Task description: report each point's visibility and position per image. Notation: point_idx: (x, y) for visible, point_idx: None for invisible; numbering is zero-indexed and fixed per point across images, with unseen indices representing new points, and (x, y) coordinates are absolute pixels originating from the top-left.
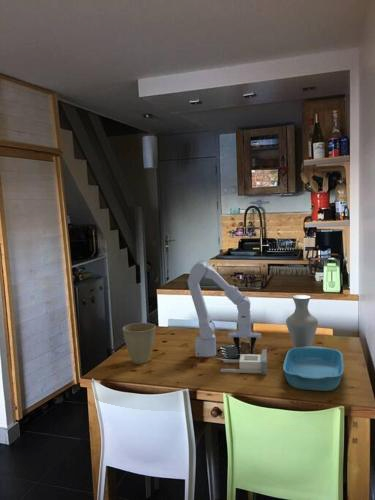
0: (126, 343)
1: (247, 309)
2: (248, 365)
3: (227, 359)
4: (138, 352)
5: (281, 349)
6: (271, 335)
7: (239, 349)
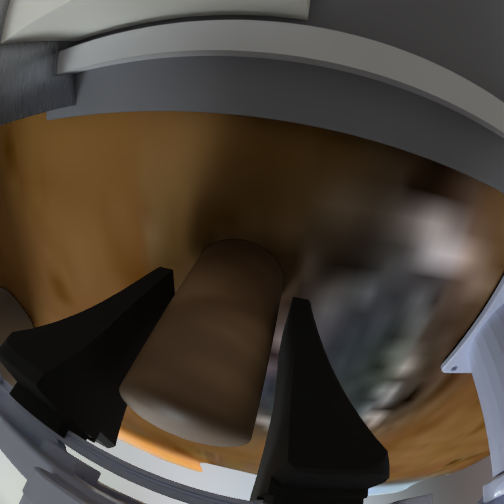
0: None
1: None
2: None
3: (489, 120)
4: None
5: None
6: (145, 431)
7: (291, 339)
